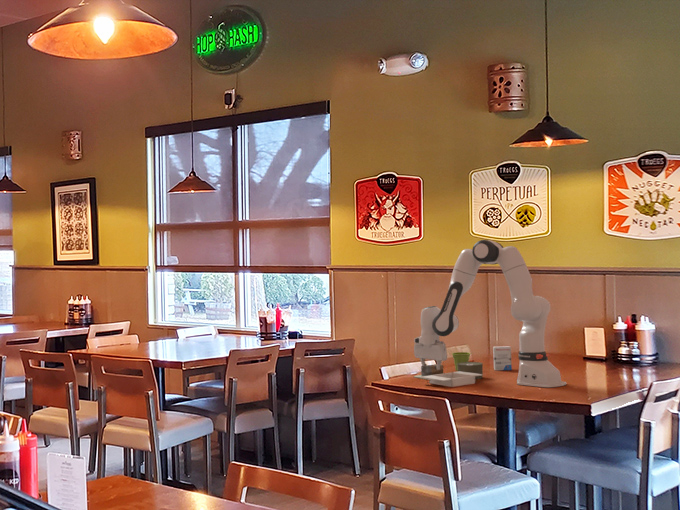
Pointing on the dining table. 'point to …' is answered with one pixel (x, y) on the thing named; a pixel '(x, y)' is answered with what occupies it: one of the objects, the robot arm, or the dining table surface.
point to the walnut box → (430, 370)
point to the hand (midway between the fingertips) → (430, 368)
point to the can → (471, 368)
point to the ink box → (502, 358)
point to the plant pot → (460, 358)
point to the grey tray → (452, 378)
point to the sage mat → (419, 377)
